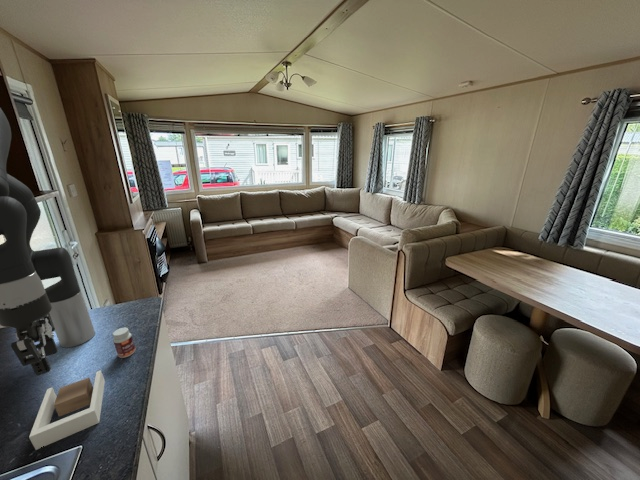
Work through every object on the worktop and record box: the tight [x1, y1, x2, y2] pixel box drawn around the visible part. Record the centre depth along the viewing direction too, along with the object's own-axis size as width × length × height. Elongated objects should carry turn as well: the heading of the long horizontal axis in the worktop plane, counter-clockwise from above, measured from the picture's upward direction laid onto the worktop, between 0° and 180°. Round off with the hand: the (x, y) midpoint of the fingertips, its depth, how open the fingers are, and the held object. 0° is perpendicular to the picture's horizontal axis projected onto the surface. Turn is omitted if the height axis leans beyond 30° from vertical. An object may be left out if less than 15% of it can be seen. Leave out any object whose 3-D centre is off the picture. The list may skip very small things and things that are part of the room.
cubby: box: [29, 369, 106, 451], centre depth 66 cm, size 14×11×4 cm
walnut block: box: [54, 377, 94, 418], centre depth 69 cm, size 6×6×4 cm
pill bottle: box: [112, 327, 136, 359], centre depth 84 cm, size 5×5×8 cm
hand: (47, 362), depth 59 cm, fingers open, 6 cm apart
